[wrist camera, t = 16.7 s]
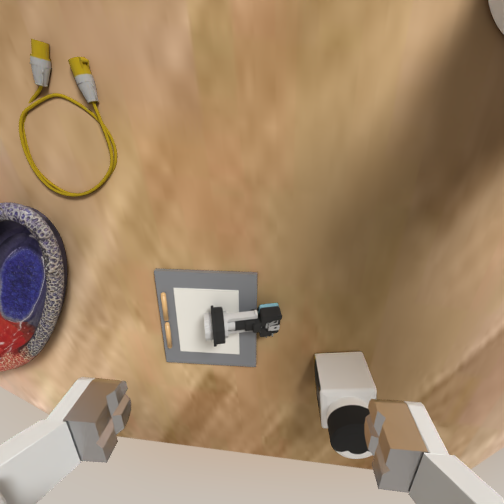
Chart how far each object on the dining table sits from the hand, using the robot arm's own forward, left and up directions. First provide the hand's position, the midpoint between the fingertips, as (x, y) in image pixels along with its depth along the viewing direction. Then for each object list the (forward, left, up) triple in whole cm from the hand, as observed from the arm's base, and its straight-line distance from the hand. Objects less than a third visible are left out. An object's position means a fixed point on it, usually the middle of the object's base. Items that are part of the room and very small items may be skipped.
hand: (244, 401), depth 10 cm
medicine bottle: (-12, +26, -29) cm, 41 cm away
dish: (+36, +14, -29) cm, 48 cm away
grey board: (+8, +18, -29) cm, 35 cm away
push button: (-2, +17, -27) cm, 32 cm away
